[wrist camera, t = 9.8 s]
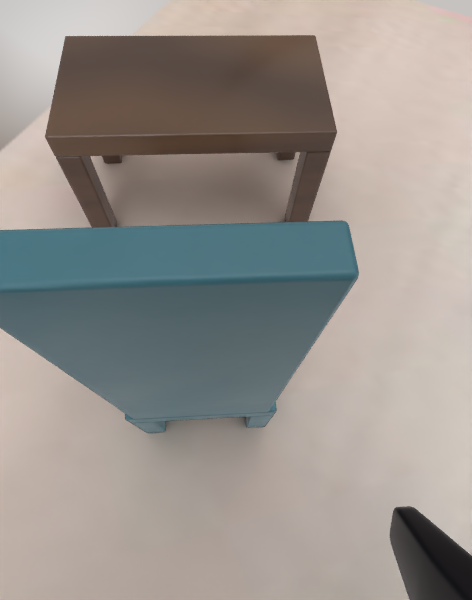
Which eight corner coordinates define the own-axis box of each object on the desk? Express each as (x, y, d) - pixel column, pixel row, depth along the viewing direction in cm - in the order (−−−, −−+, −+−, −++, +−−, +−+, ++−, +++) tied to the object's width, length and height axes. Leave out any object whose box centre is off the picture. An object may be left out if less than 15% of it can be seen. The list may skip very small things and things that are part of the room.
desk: (305, 230, 21) (337, 132, 15) (96, 236, 20) (44, 137, 14) (292, 147, 23) (315, 34, 17) (105, 150, 23) (64, 35, 17)
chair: (264, 426, 17) (385, 276, 4) (146, 433, 16) (-86, 292, 4) (256, 317, 19) (319, 6, 6) (150, 322, 18) (6, 7, 6)
